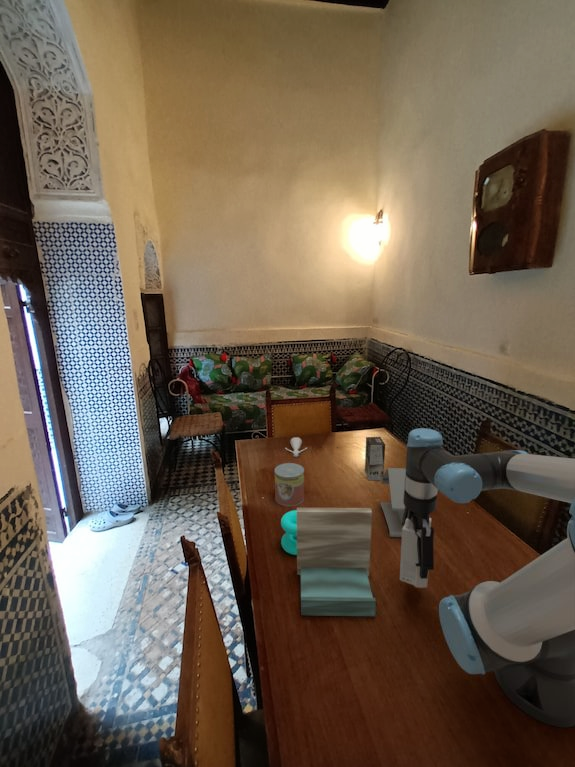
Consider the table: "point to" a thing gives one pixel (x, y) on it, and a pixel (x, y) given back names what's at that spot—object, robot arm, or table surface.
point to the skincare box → (409, 552)
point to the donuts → (290, 532)
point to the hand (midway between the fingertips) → (414, 570)
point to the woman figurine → (296, 446)
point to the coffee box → (374, 458)
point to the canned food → (289, 484)
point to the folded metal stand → (394, 500)
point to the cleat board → (334, 561)
